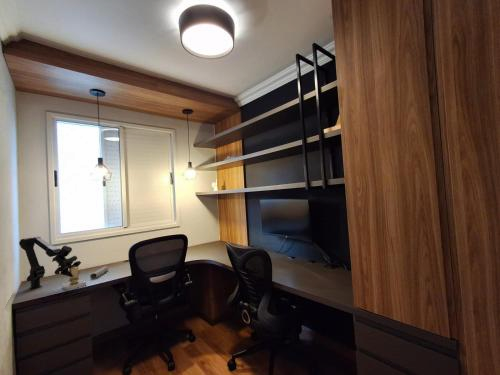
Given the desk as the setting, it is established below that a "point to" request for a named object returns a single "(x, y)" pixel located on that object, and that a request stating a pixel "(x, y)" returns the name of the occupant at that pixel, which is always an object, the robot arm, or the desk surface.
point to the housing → (73, 285)
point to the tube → (98, 272)
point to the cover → (75, 274)
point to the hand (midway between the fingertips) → (75, 275)
